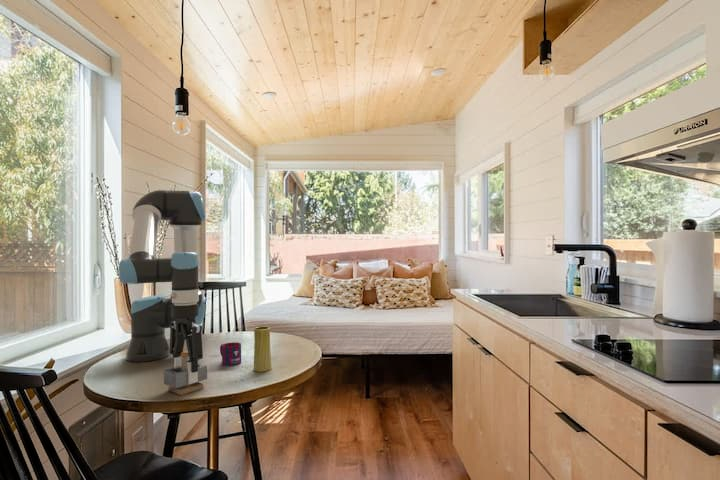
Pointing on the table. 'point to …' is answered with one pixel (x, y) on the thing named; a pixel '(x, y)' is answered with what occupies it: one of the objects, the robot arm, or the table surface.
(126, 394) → the table surface
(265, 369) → the vase
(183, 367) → the keeper post
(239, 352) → the mug
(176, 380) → the link
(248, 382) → the table surface
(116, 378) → the table surface
